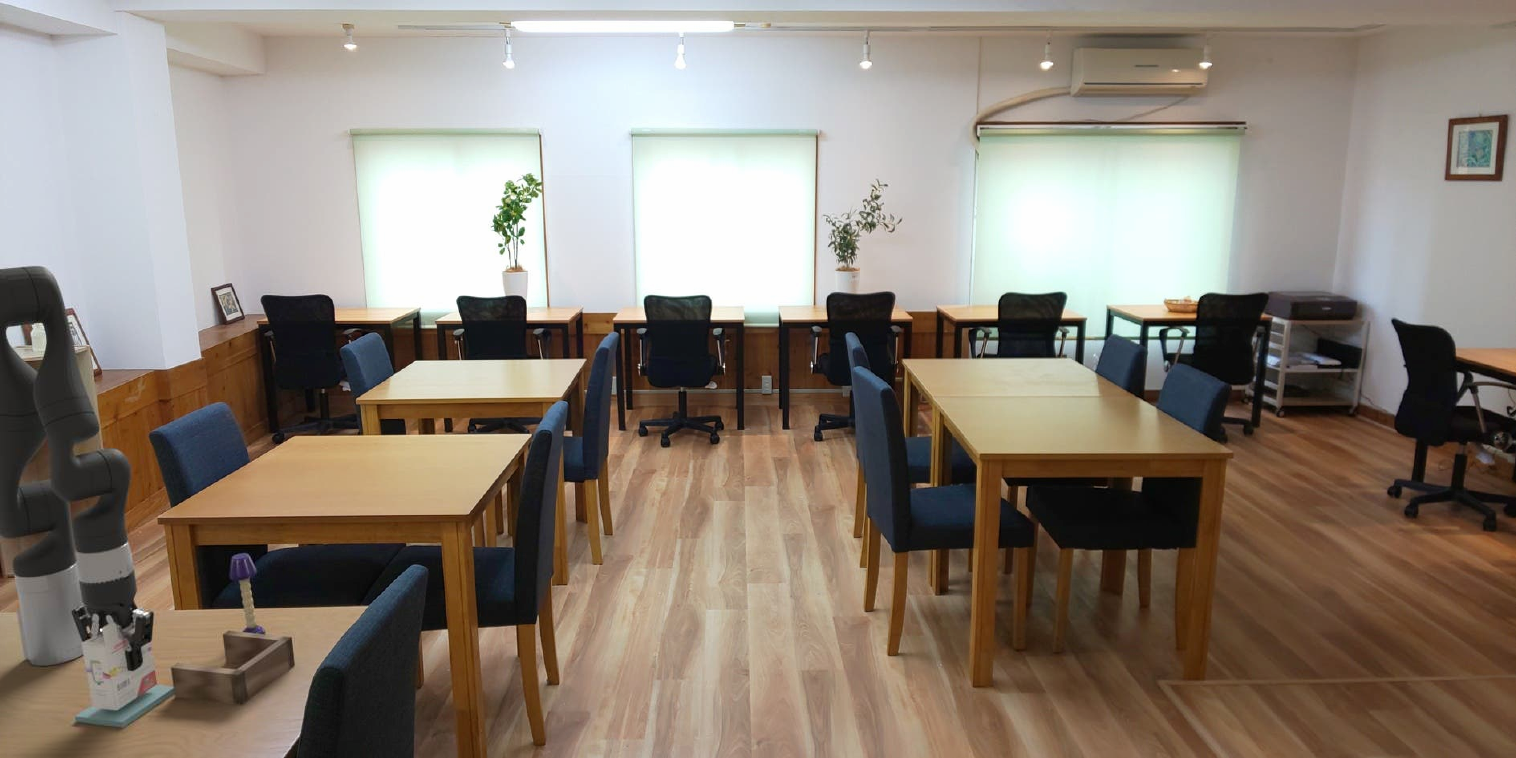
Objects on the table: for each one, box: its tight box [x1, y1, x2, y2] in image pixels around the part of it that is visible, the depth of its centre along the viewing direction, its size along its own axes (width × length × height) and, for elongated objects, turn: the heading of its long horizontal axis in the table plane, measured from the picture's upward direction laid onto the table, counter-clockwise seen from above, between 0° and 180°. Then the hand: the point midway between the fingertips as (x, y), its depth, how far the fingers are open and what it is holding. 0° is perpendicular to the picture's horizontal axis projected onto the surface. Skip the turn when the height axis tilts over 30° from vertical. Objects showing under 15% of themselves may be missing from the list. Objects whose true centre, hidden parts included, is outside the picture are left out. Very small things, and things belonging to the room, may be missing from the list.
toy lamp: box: [229, 552, 266, 635], centre depth 184 cm, size 5×5×17 cm
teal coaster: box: [74, 684, 175, 729], centre depth 162 cm, size 9×11×1 cm
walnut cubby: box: [170, 630, 296, 706], centre depth 169 cm, size 13×14×6 cm
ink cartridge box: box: [81, 606, 158, 710], centre depth 160 cm, size 9×5×15 cm, turn 168°
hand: (120, 666), depth 160 cm, fingers closed on ink cartridge box, 5 cm apart
